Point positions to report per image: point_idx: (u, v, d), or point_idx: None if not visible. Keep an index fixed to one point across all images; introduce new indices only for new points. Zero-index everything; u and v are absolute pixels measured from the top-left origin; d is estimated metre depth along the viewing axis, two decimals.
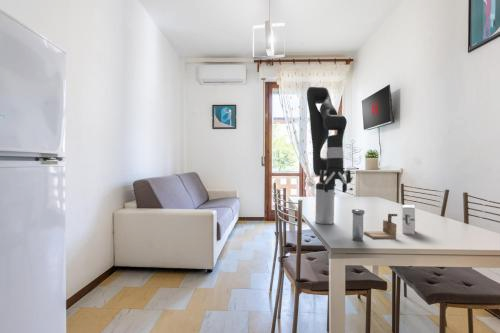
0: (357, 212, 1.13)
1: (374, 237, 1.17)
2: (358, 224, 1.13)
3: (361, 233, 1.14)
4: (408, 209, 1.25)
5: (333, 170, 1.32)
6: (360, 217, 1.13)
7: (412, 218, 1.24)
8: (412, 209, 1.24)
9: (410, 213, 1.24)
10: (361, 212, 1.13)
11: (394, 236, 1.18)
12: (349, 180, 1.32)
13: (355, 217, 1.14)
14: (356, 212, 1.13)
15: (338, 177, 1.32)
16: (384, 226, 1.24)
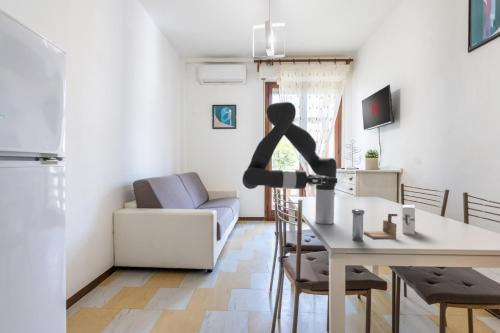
0: (357, 212, 1.13)
1: (374, 237, 1.17)
2: (358, 224, 1.13)
3: (361, 233, 1.14)
4: (408, 209, 1.25)
5: None
6: (360, 217, 1.13)
7: (412, 218, 1.24)
8: (412, 209, 1.24)
9: (410, 213, 1.24)
10: (361, 212, 1.13)
11: (394, 236, 1.18)
12: (324, 184, 1.07)
13: (355, 217, 1.14)
14: (356, 212, 1.13)
15: None
16: (384, 226, 1.24)
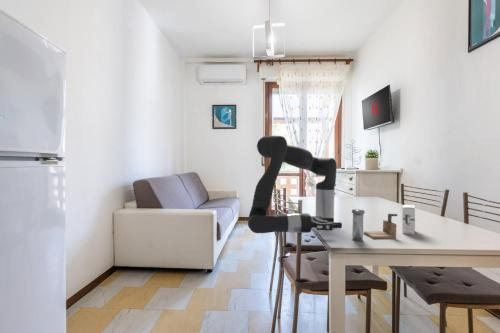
0: (357, 212, 1.13)
1: (374, 237, 1.17)
2: (358, 224, 1.13)
3: (361, 233, 1.14)
4: (408, 209, 1.25)
5: None
6: (360, 217, 1.13)
7: (412, 218, 1.24)
8: (412, 209, 1.24)
9: (410, 213, 1.24)
10: (361, 212, 1.13)
11: (394, 236, 1.18)
12: None
13: (355, 217, 1.14)
14: (356, 212, 1.13)
15: None
16: (384, 226, 1.24)
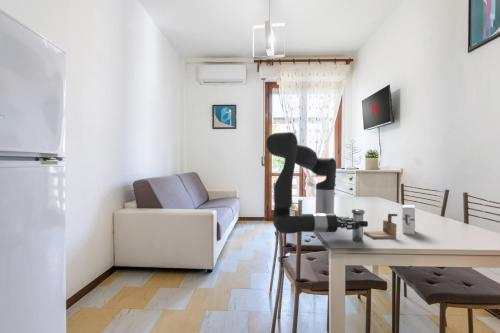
0: (357, 212, 1.13)
1: (374, 237, 1.17)
2: None
3: (361, 233, 1.14)
4: (408, 209, 1.25)
5: None
6: (360, 217, 1.13)
7: (412, 218, 1.24)
8: (412, 209, 1.24)
9: (410, 213, 1.24)
10: (361, 212, 1.13)
11: (394, 236, 1.18)
12: None
13: (355, 217, 1.14)
14: (356, 212, 1.13)
15: None
16: (384, 226, 1.24)
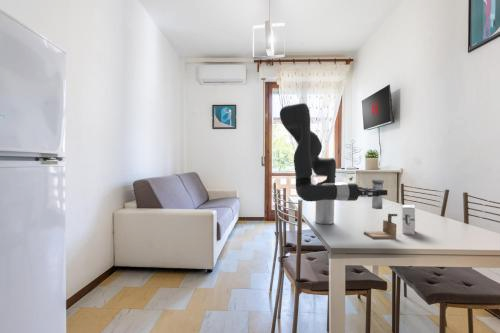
0: (377, 181, 1.18)
1: (374, 237, 1.17)
2: None
3: (381, 201, 1.19)
4: (408, 209, 1.25)
5: None
6: (380, 186, 1.18)
7: (412, 218, 1.24)
8: (412, 209, 1.24)
9: (410, 213, 1.24)
10: (381, 181, 1.18)
11: (394, 236, 1.18)
12: None
13: (375, 186, 1.19)
14: (376, 181, 1.19)
15: None
16: (384, 226, 1.24)
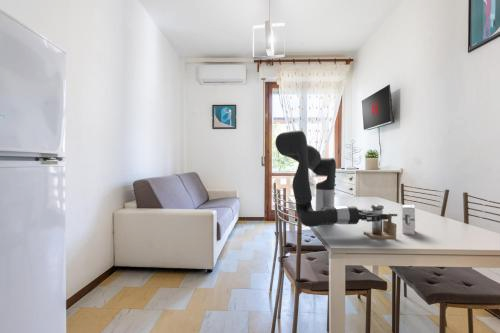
0: (377, 207, 1.19)
1: (374, 237, 1.17)
2: None
3: (381, 227, 1.19)
4: (408, 209, 1.25)
5: None
6: (379, 212, 1.19)
7: (412, 218, 1.24)
8: (412, 209, 1.24)
9: (410, 213, 1.24)
10: (380, 207, 1.18)
11: (394, 236, 1.18)
12: (377, 220, 1.15)
13: (375, 212, 1.20)
14: (376, 207, 1.19)
15: None
16: (384, 226, 1.24)
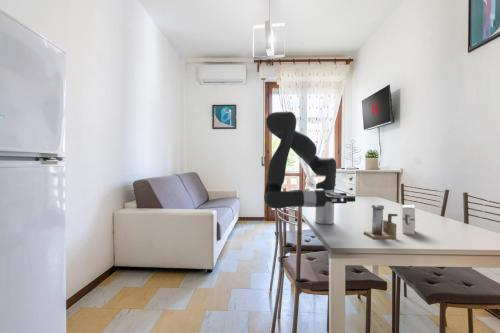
0: (377, 207, 1.19)
1: (374, 237, 1.17)
2: (378, 218, 1.19)
3: (381, 227, 1.19)
4: (408, 209, 1.25)
5: None
6: (380, 212, 1.19)
7: (412, 218, 1.24)
8: (412, 209, 1.24)
9: (410, 213, 1.24)
10: (381, 207, 1.19)
11: (394, 236, 1.18)
12: None
13: (375, 212, 1.20)
14: (376, 207, 1.19)
15: None
16: (384, 226, 1.24)
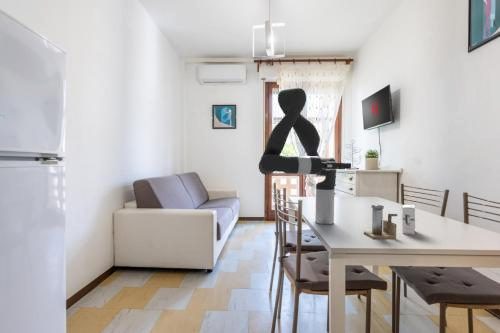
0: (377, 207, 1.19)
1: (374, 237, 1.17)
2: (378, 218, 1.19)
3: (381, 227, 1.19)
4: (408, 209, 1.25)
5: None
6: (380, 212, 1.19)
7: (412, 218, 1.24)
8: (412, 209, 1.24)
9: (410, 213, 1.24)
10: (381, 207, 1.19)
11: (394, 236, 1.18)
12: None
13: (375, 212, 1.20)
14: (376, 207, 1.19)
15: None
16: (384, 226, 1.24)
